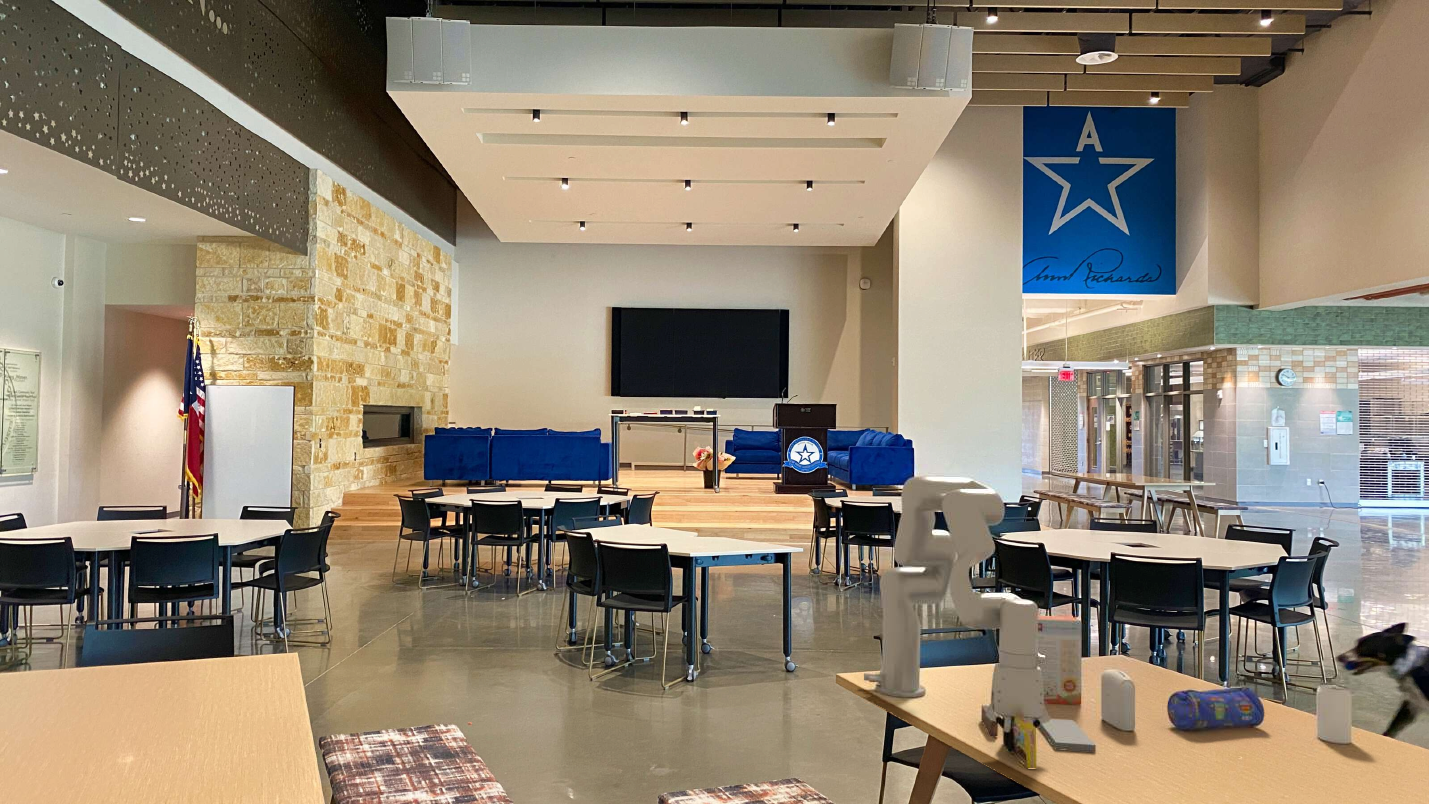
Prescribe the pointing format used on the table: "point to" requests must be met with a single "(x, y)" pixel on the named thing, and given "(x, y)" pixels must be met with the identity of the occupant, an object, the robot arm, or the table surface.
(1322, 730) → the can
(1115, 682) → the photo printer
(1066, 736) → the grey plinth
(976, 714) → the table surface
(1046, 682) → the cracker box
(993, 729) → the walnut rack
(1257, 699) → the pencil case
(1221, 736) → the table surface
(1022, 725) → the candy box
